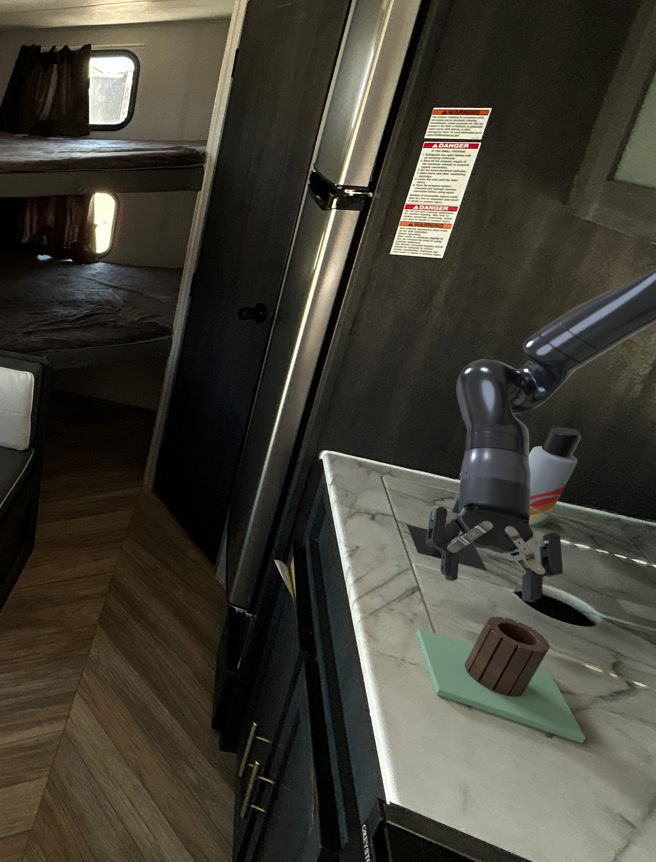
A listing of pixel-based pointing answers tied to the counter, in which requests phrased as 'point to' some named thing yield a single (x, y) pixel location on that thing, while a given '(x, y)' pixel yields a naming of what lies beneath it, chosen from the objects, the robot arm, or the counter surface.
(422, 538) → the peg stand
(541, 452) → the lotion bottle
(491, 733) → the counter surface
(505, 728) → the counter surface
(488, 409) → the robot arm
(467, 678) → the mat
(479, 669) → the brown grooved hollow cylinder
